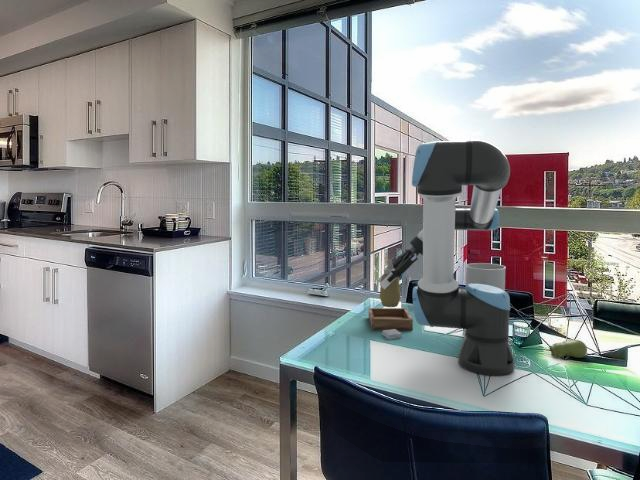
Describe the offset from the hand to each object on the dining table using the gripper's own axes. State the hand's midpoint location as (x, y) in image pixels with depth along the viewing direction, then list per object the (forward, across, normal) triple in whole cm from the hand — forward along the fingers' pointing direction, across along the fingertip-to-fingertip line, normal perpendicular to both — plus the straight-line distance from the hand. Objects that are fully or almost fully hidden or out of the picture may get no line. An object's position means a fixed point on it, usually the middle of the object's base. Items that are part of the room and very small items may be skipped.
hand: (380, 284), depth 156 cm
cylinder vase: (-13, -15, -35) cm, 41 cm away
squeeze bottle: (+4, 0, -9) cm, 9 cm away
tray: (+9, -1, -13) cm, 16 cm away
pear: (-27, -32, -49) cm, 64 cm away
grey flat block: (+9, -15, -13) cm, 22 cm away
